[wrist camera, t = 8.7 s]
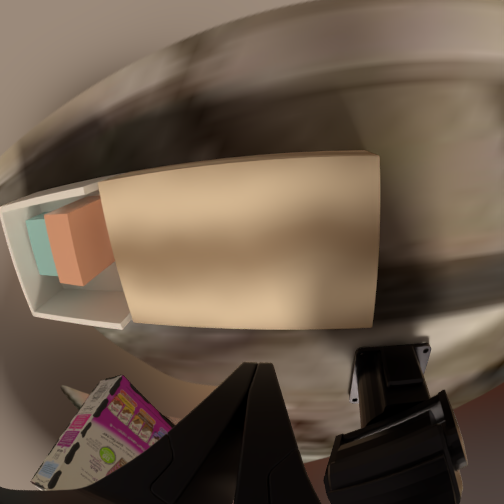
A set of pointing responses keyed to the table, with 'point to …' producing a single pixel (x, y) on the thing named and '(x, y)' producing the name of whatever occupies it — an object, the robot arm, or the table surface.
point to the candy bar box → (102, 437)
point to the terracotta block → (79, 240)
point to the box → (49, 287)
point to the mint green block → (41, 245)
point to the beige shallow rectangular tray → (249, 240)
